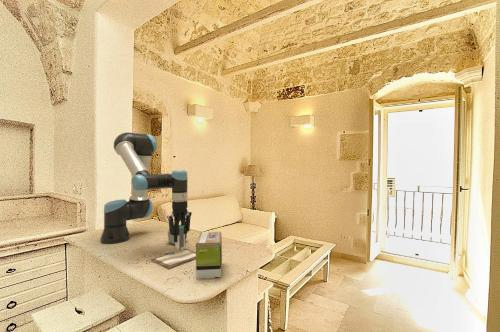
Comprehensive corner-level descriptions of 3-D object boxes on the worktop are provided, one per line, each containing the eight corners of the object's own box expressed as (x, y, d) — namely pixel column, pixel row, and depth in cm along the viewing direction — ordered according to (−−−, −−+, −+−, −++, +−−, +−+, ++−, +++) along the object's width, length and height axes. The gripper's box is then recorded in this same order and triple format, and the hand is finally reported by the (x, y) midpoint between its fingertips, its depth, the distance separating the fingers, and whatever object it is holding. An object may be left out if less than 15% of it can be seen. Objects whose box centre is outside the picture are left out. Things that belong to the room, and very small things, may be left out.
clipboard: (149, 259, 113) (149, 257, 113) (183, 248, 128) (183, 246, 128) (168, 269, 103) (168, 266, 103) (203, 256, 118) (203, 253, 118)
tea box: (200, 263, 109) (200, 231, 109) (222, 263, 110) (222, 231, 110) (195, 279, 94) (195, 242, 94) (221, 278, 95) (221, 241, 95)
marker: (176, 249, 120) (176, 225, 120) (180, 247, 122) (180, 224, 122) (179, 250, 119) (179, 226, 119) (183, 249, 121) (183, 225, 121)
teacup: (181, 246, 132) (181, 231, 132) (163, 245, 134) (163, 230, 134) (192, 238, 146) (192, 225, 146) (176, 237, 148) (176, 224, 148)
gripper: (170, 203, 112) (170, 253, 112) (196, 199, 124) (197, 244, 124) (161, 201, 117) (161, 249, 117) (188, 198, 129) (188, 241, 129)
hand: (180, 247), depth 120 cm, fingers closed on marker, 3 cm apart
